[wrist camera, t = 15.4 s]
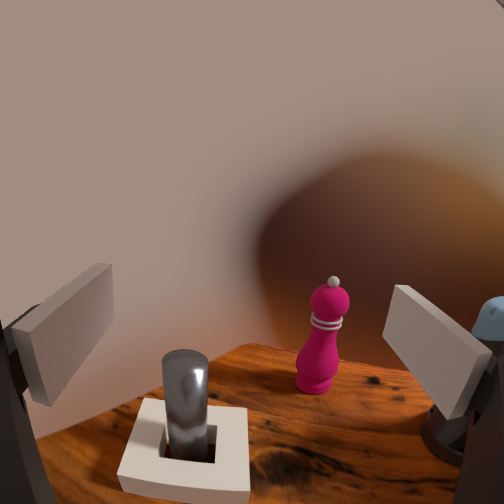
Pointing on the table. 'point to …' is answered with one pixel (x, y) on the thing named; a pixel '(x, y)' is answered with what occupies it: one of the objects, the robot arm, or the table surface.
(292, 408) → the table surface
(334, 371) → the pepper mill
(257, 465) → the table surface
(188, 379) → the peg
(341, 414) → the table surface
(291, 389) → the table surface
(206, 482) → the socket block
